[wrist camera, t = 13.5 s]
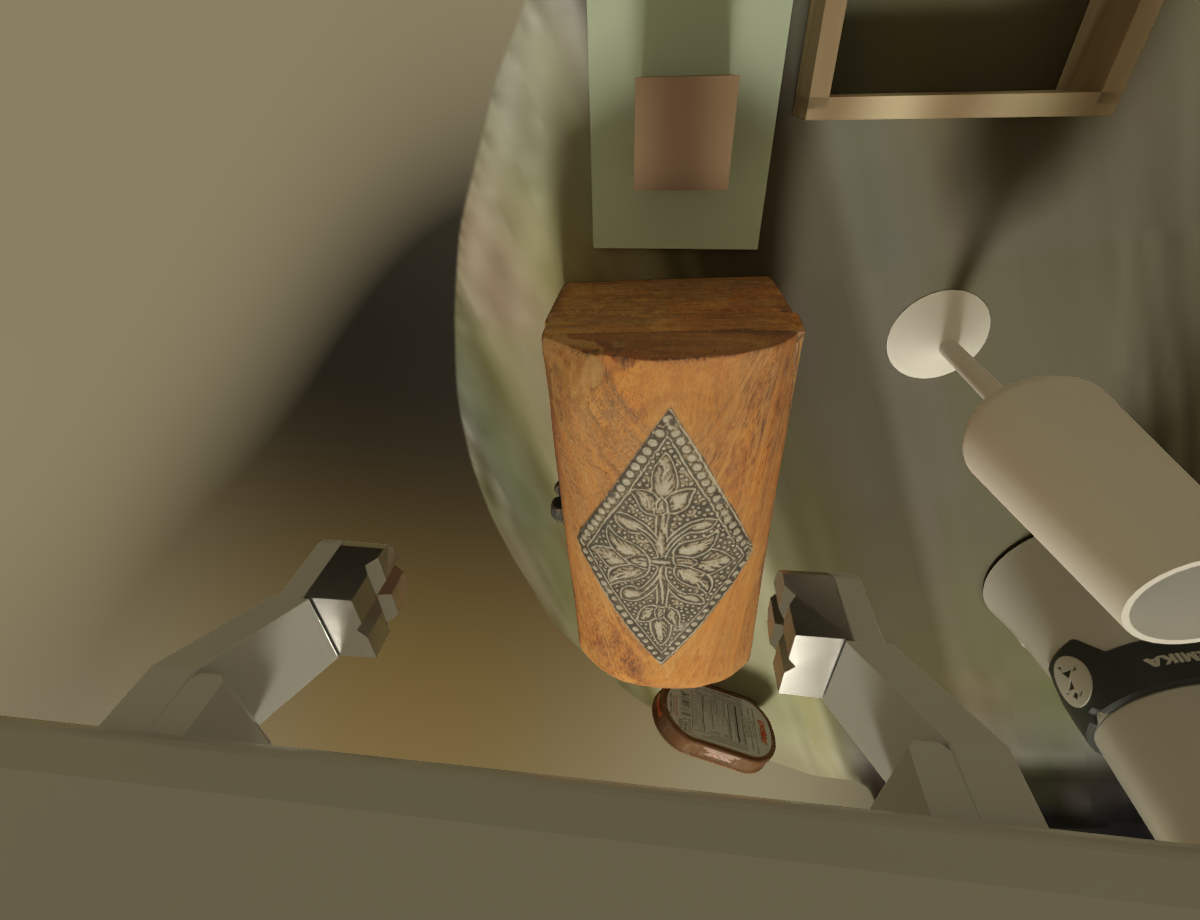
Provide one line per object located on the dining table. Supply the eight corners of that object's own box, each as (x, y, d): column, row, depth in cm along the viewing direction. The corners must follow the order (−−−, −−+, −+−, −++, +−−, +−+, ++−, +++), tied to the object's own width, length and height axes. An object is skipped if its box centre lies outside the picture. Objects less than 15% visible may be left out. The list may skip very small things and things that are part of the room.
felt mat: (795, -32, 28) (798, -34, 28) (756, 247, 37) (757, 249, 36) (587, -23, 29) (586, -24, 29) (594, 245, 38) (593, 248, 37)
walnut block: (729, 74, 31) (739, 75, 26) (719, 173, 34) (727, 190, 29) (641, 76, 31) (635, 77, 26) (639, 173, 34) (633, 190, 29)
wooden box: (550, 275, 39) (501, 357, 28) (784, 271, 37) (831, 356, 26) (580, 564, 57) (557, 686, 46) (741, 572, 55) (759, 701, 44)
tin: (652, 678, 67) (649, 747, 60) (662, 665, 65) (661, 734, 58) (760, 714, 69) (769, 784, 62) (773, 702, 67) (785, 773, 60)
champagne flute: (1009, 335, 38) (1358, 609, 19) (918, 395, 41) (1134, 680, 22) (958, 268, 36) (1291, 499, 17) (867, 337, 39) (1054, 597, 20)
